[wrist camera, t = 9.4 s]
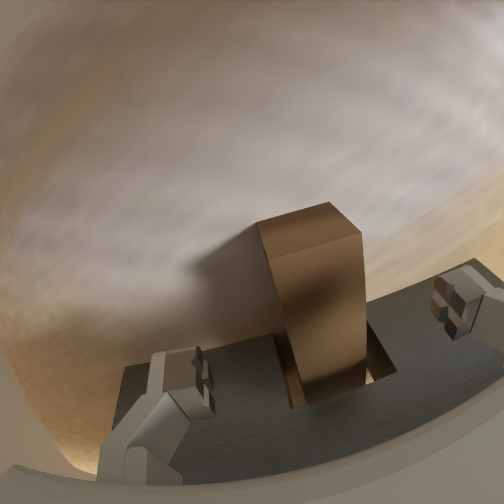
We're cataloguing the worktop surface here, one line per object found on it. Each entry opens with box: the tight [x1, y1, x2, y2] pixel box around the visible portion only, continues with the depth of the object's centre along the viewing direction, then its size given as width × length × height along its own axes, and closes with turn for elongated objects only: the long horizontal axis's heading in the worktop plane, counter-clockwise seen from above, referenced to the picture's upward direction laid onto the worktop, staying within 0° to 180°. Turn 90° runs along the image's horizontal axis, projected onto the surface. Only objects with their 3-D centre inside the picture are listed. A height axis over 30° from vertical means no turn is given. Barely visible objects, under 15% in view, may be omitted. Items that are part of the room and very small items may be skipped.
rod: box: [256, 202, 367, 405], centre depth 18 cm, size 20×4×4 cm, turn 15°
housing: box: [112, 258, 504, 485], centre depth 14 cm, size 6×29×13 cm, turn 105°
